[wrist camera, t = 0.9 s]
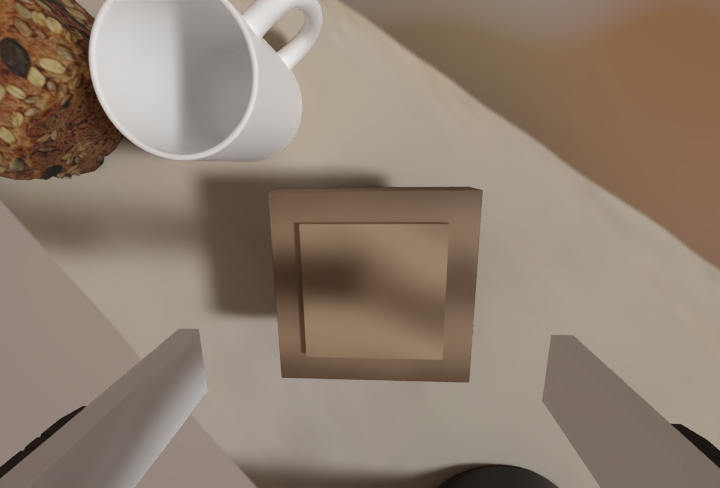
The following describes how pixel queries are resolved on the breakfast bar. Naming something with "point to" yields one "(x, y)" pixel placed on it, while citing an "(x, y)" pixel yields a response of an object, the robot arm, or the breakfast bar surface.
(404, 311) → the lid
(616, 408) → the robot arm
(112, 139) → the bread
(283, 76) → the cup
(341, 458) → the breakfast bar surface
